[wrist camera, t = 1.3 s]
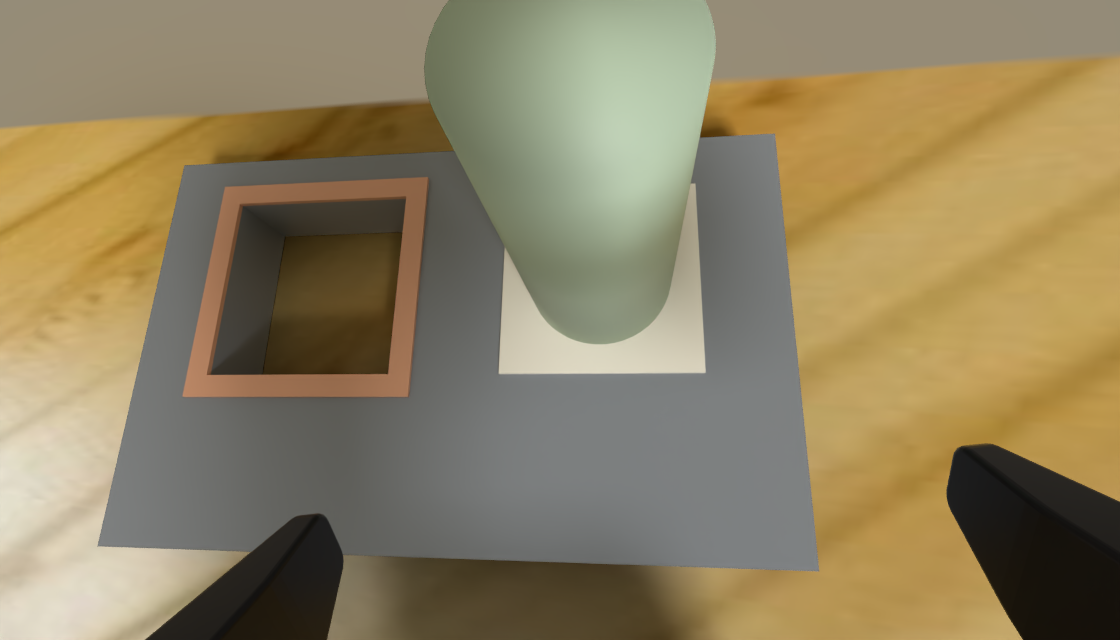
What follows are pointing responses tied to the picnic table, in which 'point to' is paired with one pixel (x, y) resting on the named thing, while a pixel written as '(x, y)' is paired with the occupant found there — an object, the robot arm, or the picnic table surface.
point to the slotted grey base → (471, 384)
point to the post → (578, 143)
